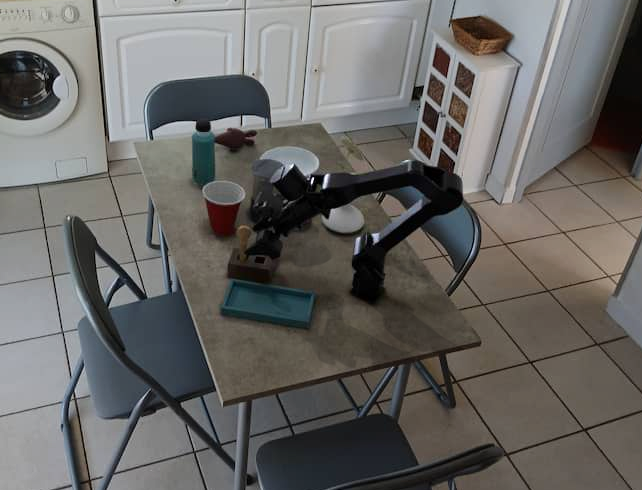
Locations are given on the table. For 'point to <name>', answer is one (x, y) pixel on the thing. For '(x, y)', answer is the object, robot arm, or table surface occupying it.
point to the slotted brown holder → (250, 267)
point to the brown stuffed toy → (235, 138)
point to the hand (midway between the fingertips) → (249, 241)
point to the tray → (268, 303)
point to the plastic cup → (223, 205)
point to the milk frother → (263, 182)
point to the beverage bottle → (203, 153)
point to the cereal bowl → (294, 159)
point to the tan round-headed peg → (243, 240)
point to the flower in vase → (347, 216)
